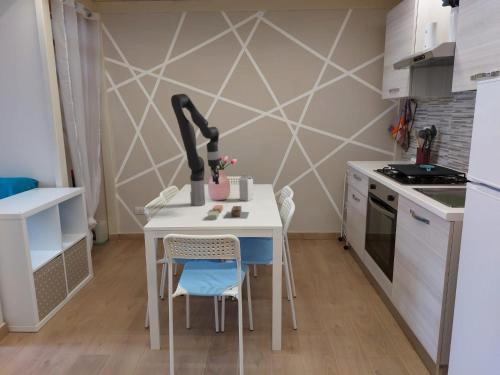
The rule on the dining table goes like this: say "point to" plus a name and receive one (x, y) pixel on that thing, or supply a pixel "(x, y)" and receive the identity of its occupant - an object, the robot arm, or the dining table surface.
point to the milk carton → (246, 187)
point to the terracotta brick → (218, 208)
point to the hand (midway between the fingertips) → (215, 183)
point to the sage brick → (213, 215)
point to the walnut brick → (236, 211)
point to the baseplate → (243, 216)
